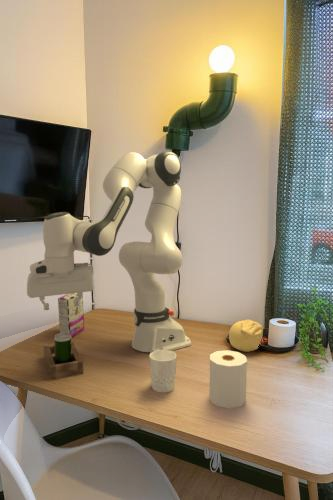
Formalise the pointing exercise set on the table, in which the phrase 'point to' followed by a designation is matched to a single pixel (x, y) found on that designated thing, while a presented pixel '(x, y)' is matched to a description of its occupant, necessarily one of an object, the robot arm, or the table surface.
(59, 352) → the beer can
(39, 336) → the table surface
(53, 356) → the shelf
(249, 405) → the table surface
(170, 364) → the white cup
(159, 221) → the robot arm
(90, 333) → the table surface
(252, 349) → the sculpture
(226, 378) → the toilet paper
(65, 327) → the candy bar box
